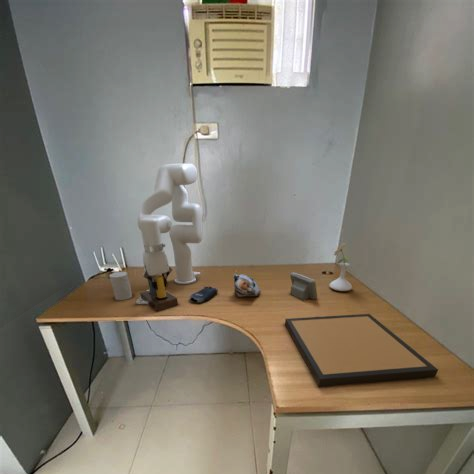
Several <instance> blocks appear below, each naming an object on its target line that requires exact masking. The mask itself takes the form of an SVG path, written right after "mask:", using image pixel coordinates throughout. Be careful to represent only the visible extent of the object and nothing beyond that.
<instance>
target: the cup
mask: <svg viewBox="0 0 474 474" xmlns="http://www.w3.org/2000/svg"><path fill="white" fill-rule="evenodd" d="M109 279H110V284H111V289H112V292H113V295H114V299H115V300H116V301H126V300H129V299H131V298H132V297H133V292H132V288H131V284H130V279H129V274H128V272H127V271H117V272H112V273H110V274H109Z"/></svg>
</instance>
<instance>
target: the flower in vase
mask: <svg viewBox="0 0 474 474" xmlns="http://www.w3.org/2000/svg"><path fill="white" fill-rule="evenodd" d="M346 245H347V243H346V242H343V243H341V245H340V246H338V247H337V249H336V250H335V251H334V254H333V256H338V255H339V254H340V253H342V258H341V259H339V260H338V261H337V264H339V266H340V275H339V276H338V278H336V279H334V280H333V281H331V282H330V283H329V288H330V289H332V290H334V291H336V292H337V291H338V292H348V291H351V290H352V289H353V286H352V284H351V283H350V282H349V281H348V280H347V278H346V272H347V269H348V268H349V267H350V265H351V264H350V263H349V256H348V255H346V256H345V255H344V251H343V250H344V248H345V247H346Z"/></svg>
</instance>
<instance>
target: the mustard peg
mask: <svg viewBox="0 0 474 474" xmlns="http://www.w3.org/2000/svg"><path fill="white" fill-rule="evenodd" d="M155 281H156V282H157V288H158V289H157V290H156V292H157V297H158V298H164V297H166V292H167V291H166V287H165V285H164V279H163V275H162V274H158V275H156V276H155ZM165 291H166V292H165Z"/></svg>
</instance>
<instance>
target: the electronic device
mask: <svg viewBox="0 0 474 474" xmlns="http://www.w3.org/2000/svg"><path fill="white" fill-rule="evenodd" d="M218 292H219V288H215V287H212V286H203V288H202V289H200V290H198V291H195V292H194V293H191V294H190V296H189V300H190V302H191V303H204V302H207V301H208V300H210V299H211V298H212V297H214V296H215V295H217V294H219V293H218Z"/></svg>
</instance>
